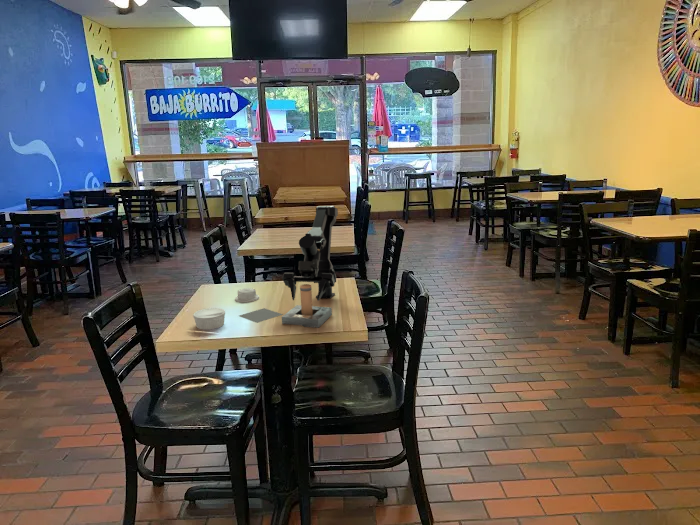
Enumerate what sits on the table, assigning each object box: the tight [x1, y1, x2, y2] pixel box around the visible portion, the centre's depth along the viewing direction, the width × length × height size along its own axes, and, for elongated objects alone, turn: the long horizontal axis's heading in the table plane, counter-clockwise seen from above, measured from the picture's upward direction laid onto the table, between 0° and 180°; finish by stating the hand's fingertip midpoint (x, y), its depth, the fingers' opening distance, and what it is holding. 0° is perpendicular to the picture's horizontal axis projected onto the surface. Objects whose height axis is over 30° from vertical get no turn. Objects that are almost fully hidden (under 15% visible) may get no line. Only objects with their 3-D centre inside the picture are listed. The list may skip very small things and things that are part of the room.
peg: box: [299, 283, 313, 316], centre depth 194 cm, size 4×4×13 cm
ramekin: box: [192, 307, 226, 331], centre depth 191 cm, size 11×11×5 cm
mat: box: [238, 307, 284, 324], centre depth 201 cm, size 12×12×1 cm
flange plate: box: [281, 304, 333, 329], centre depth 195 cm, size 14×14×3 cm
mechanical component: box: [234, 287, 260, 303], centre depth 223 cm, size 10×4×10 cm
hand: (305, 299), depth 192 cm, fingers open, 9 cm apart
